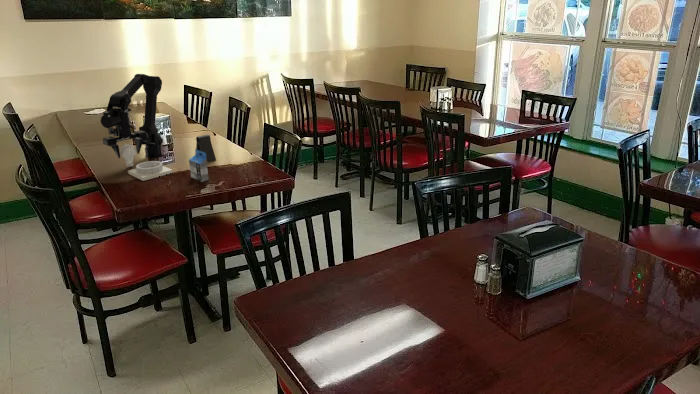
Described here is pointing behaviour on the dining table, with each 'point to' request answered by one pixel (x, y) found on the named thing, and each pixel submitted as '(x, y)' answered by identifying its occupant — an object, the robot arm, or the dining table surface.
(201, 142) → the phone stand
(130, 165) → the light bulb
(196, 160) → the retail box
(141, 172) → the socket base
